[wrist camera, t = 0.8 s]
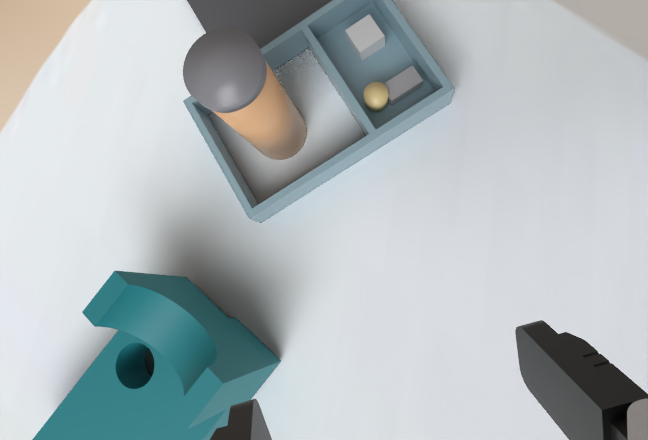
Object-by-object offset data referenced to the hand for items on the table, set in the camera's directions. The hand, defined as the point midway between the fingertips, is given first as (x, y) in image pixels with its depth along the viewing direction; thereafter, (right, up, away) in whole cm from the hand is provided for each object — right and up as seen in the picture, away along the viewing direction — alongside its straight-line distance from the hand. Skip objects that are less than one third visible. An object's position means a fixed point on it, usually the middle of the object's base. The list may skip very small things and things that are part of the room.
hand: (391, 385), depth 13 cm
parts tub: (-3, +15, +26) cm, 30 cm away
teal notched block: (-15, -11, +25) cm, 31 cm away
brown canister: (-6, +13, +26) cm, 30 cm away
